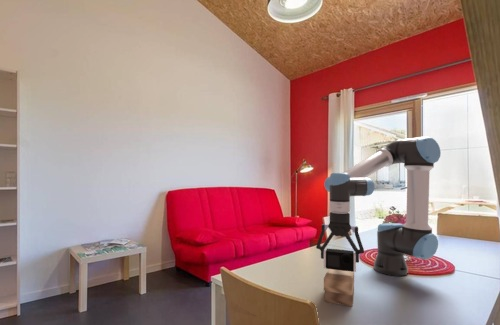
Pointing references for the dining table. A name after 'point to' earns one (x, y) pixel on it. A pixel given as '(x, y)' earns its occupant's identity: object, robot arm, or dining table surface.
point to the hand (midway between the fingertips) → (339, 268)
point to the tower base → (339, 298)
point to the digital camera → (340, 260)
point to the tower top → (339, 281)
